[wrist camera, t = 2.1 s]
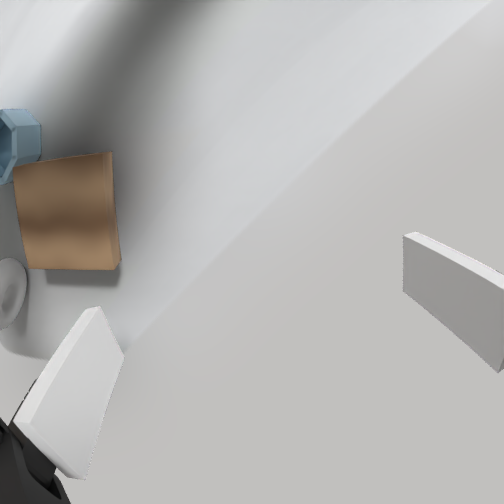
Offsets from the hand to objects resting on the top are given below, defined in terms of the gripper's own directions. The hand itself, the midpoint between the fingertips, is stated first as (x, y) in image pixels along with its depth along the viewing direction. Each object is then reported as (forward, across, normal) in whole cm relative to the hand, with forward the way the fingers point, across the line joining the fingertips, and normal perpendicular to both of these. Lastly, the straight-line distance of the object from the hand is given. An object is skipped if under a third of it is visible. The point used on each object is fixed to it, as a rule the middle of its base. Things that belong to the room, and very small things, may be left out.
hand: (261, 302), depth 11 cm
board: (+17, -16, +5) cm, 24 cm away
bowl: (+21, -24, +15) cm, 36 cm away
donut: (+23, -31, -1) cm, 39 cm away
